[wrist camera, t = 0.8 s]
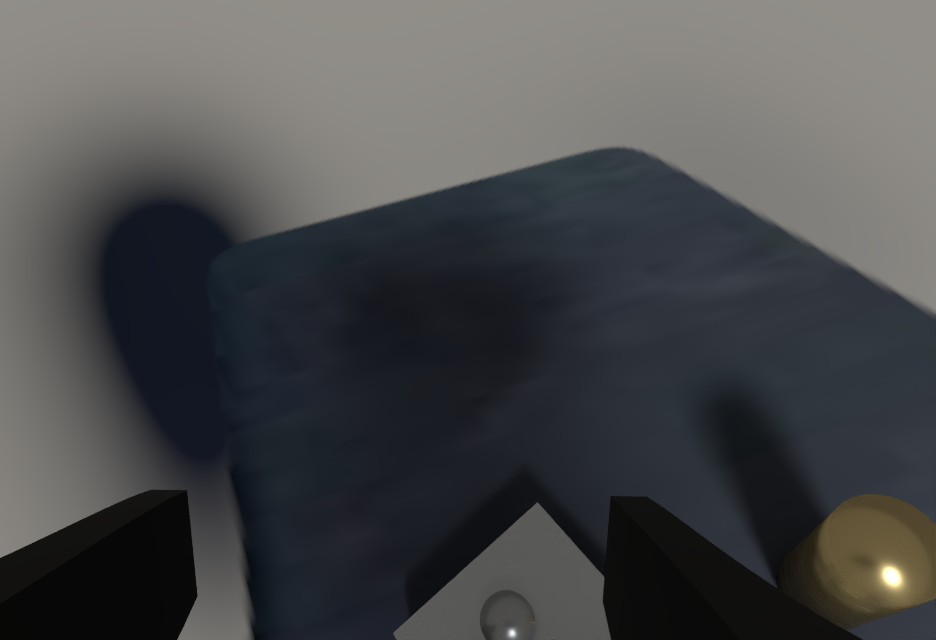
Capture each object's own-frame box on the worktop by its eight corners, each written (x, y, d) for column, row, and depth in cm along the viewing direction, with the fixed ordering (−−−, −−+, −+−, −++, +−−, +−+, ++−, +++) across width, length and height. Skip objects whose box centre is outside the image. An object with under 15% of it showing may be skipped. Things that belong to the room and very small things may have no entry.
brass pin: (884, 592, 21) (977, 552, 16) (833, 650, 21) (910, 630, 15) (809, 530, 23) (869, 473, 17) (760, 582, 22) (806, 541, 17)
